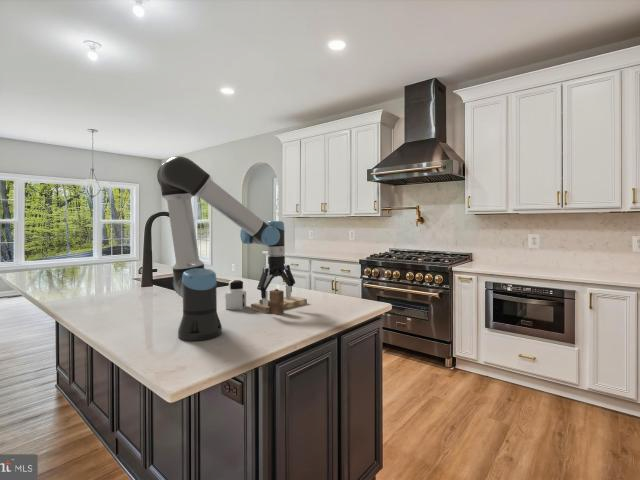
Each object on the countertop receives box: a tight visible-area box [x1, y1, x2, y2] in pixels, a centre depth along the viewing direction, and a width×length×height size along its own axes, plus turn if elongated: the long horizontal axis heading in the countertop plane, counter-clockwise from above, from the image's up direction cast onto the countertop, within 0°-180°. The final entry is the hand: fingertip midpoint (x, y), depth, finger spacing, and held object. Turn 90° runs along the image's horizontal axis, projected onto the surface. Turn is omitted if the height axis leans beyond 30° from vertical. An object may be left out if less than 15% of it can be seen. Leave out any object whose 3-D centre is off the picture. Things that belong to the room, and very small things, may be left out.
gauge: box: [258, 288, 285, 315], centre depth 165 cm, size 4×14×11 cm, turn 47°
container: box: [225, 279, 247, 311], centre depth 171 cm, size 8×8×13 cm
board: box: [250, 295, 308, 314], centre depth 174 cm, size 26×11×2 cm, turn 137°
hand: (277, 302), depth 162 cm, fingers open, 13 cm apart
